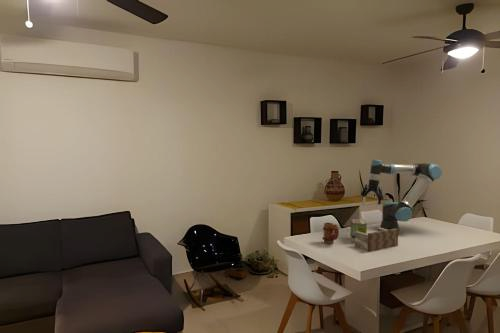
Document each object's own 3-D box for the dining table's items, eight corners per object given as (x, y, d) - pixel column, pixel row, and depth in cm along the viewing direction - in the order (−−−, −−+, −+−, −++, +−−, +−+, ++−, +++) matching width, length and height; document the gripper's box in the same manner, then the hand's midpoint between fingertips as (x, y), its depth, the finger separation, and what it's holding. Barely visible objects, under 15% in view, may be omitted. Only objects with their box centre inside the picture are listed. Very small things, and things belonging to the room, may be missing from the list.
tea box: (366, 243, 250) (366, 223, 249) (351, 242, 252) (352, 222, 251) (363, 238, 264) (364, 219, 263) (350, 237, 266) (350, 218, 265)
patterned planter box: (381, 240, 257) (381, 224, 256) (397, 245, 244) (398, 229, 243) (353, 246, 243) (353, 229, 242) (369, 251, 231) (370, 234, 230)
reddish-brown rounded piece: (320, 241, 254) (320, 221, 253) (329, 240, 257) (329, 220, 256) (332, 247, 240) (332, 225, 239) (341, 246, 244) (342, 224, 243)
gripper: (358, 177, 278) (354, 203, 279) (384, 181, 257) (380, 209, 258) (364, 177, 282) (361, 203, 283) (391, 182, 261) (387, 209, 262)
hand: (370, 206), depth 271 cm, fingers open, 13 cm apart
